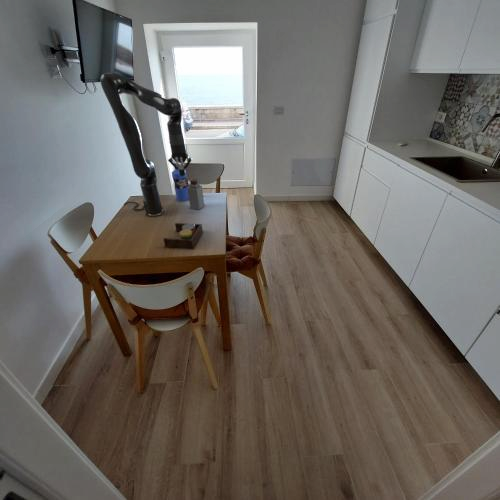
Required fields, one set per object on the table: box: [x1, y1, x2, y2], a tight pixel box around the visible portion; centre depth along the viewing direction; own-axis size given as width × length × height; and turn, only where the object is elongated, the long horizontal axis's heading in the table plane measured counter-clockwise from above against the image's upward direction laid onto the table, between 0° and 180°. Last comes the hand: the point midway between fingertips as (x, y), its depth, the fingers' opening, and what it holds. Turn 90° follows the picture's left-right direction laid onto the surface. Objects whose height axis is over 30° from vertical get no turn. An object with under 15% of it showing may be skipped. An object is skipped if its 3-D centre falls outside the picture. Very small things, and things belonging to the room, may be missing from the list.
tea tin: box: [179, 229, 192, 240], centre depth 140 cm, size 6×6×7 cm
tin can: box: [182, 223, 196, 237], centre depth 147 cm, size 7×7×6 cm
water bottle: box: [171, 162, 189, 202], centre depth 184 cm, size 9×9×25 cm
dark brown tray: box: [163, 222, 204, 250], centre depth 144 cm, size 15×17×5 cm
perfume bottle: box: [187, 178, 205, 210], centre depth 174 cm, size 7×7×18 cm
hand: (182, 175), depth 149 cm, fingers closed
